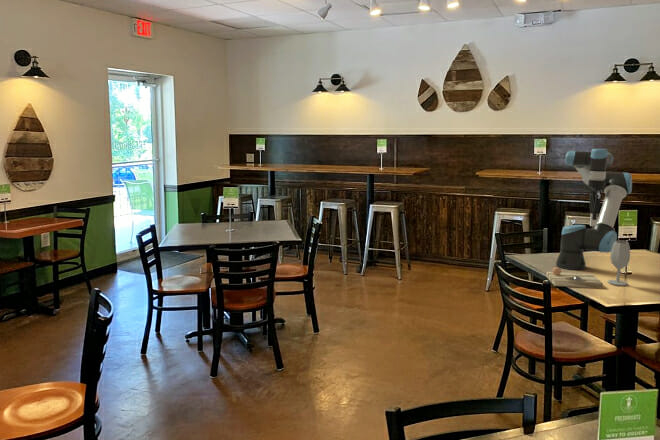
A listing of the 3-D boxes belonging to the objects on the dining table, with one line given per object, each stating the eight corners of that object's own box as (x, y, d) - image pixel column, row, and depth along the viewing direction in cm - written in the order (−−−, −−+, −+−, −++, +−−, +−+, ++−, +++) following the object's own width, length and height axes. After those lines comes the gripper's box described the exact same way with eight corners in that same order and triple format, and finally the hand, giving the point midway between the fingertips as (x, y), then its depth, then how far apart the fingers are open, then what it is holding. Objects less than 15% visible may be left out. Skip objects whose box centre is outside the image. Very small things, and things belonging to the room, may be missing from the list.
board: (546, 276, 297) (546, 271, 297) (591, 278, 294) (591, 273, 294) (554, 285, 280) (554, 280, 279) (602, 288, 276) (602, 283, 276)
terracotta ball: (551, 273, 293) (552, 266, 292) (559, 274, 292) (560, 266, 291) (553, 275, 289) (553, 267, 288) (561, 276, 288) (562, 268, 287)
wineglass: (631, 286, 281) (635, 243, 278) (615, 286, 280) (619, 244, 276) (619, 281, 290) (623, 240, 286) (603, 281, 288) (607, 240, 285)
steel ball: (571, 284, 282) (570, 279, 285) (579, 287, 281) (578, 282, 285) (574, 278, 279) (574, 273, 283) (583, 281, 279) (582, 276, 282)
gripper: (585, 178, 298) (581, 223, 301) (592, 180, 285) (588, 227, 289) (600, 178, 297) (596, 224, 300) (609, 181, 284) (604, 228, 288)
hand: (592, 225), depth 295 cm, fingers closed
